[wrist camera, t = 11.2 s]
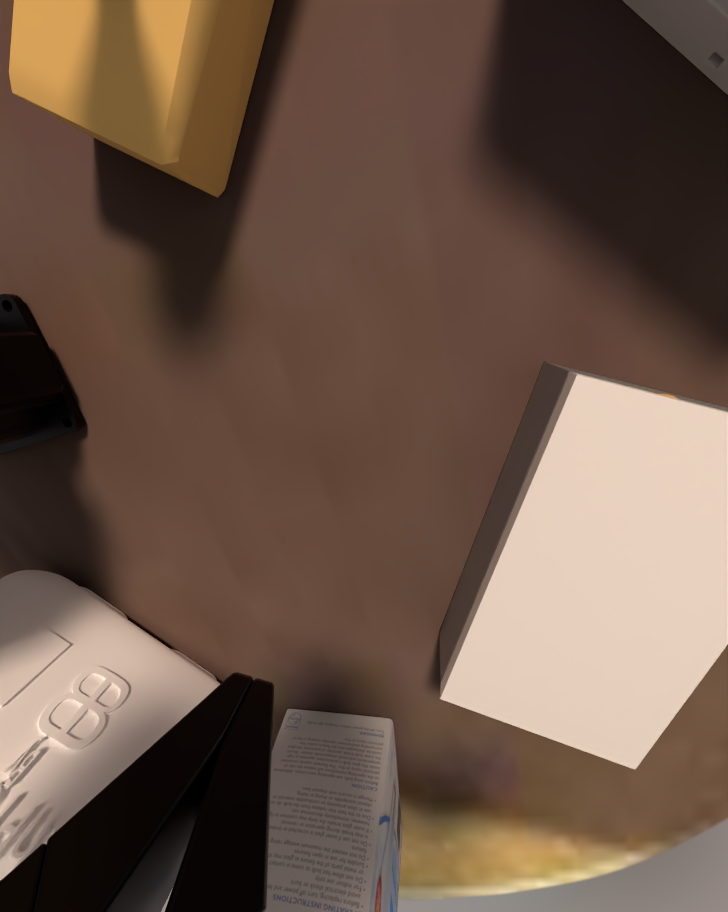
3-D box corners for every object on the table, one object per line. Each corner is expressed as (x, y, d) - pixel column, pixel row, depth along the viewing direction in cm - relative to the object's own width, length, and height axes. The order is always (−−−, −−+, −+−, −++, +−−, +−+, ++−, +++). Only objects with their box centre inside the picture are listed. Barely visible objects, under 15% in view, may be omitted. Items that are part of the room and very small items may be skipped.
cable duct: (439, 631, 21) (440, 681, 18) (544, 361, 16) (569, 371, 13) (595, 679, 20) (622, 738, 17) (755, 414, 15) (829, 437, 12)
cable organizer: (-1, 646, 27) (-295, 870, 16) (49, 544, 23) (-292, 745, 12) (185, 769, 28) (27, 1057, 17) (260, 690, 24) (120, 994, 13)
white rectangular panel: (440, 683, 18) (439, 698, 17) (569, 371, 13) (577, 374, 12) (626, 749, 17) (635, 769, 16) (844, 441, 12) (871, 449, 11)
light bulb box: (404, 834, 26) (387, 1153, 16) (306, 820, 28) (234, 1110, 18) (393, 713, 23) (364, 1020, 13) (283, 704, 24) (176, 979, 14)
